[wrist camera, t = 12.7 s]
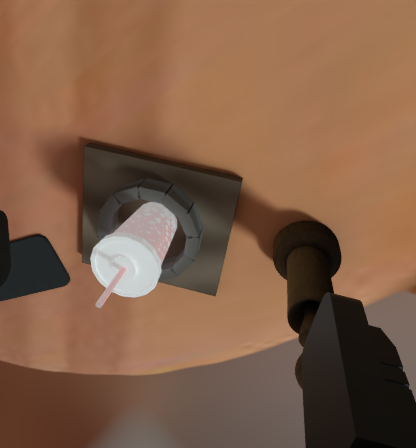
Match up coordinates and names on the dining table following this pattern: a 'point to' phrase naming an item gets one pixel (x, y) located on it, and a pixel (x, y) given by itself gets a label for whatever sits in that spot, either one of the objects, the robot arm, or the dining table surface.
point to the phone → (33, 268)
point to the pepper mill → (306, 273)
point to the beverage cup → (134, 252)
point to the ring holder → (171, 199)
